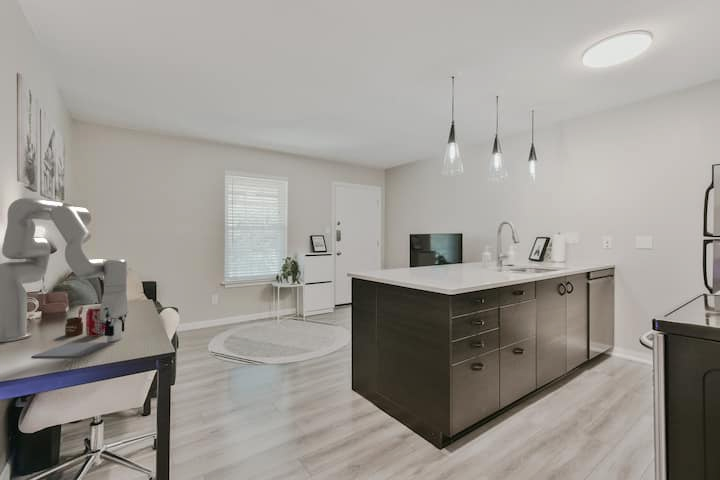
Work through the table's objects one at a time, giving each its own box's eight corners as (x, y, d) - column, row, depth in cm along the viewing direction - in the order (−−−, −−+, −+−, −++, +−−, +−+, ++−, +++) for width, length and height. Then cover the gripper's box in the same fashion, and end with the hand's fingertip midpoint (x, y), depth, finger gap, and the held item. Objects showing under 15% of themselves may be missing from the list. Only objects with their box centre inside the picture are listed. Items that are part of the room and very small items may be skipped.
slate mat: (31, 357, 117) (31, 356, 117) (69, 344, 133) (69, 342, 133) (79, 357, 118) (79, 355, 118) (111, 343, 134) (111, 342, 134)
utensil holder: (73, 332, 150) (73, 305, 150) (87, 332, 150) (87, 305, 150) (61, 336, 144) (61, 308, 144) (75, 336, 144) (75, 308, 144)
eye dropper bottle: (124, 339, 140) (125, 310, 140) (109, 342, 135) (109, 312, 136) (119, 337, 142) (120, 309, 143) (104, 341, 138) (104, 311, 138)
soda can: (110, 333, 150) (111, 306, 150) (96, 337, 143) (97, 309, 143) (96, 332, 150) (96, 305, 150) (81, 337, 143) (81, 308, 143)
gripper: (119, 286, 148) (119, 328, 147) (90, 292, 130) (89, 339, 130) (137, 286, 148) (137, 328, 148) (110, 292, 131) (109, 339, 131)
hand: (114, 333), depth 139 cm, fingers closed on eye dropper bottle, 5 cm apart
